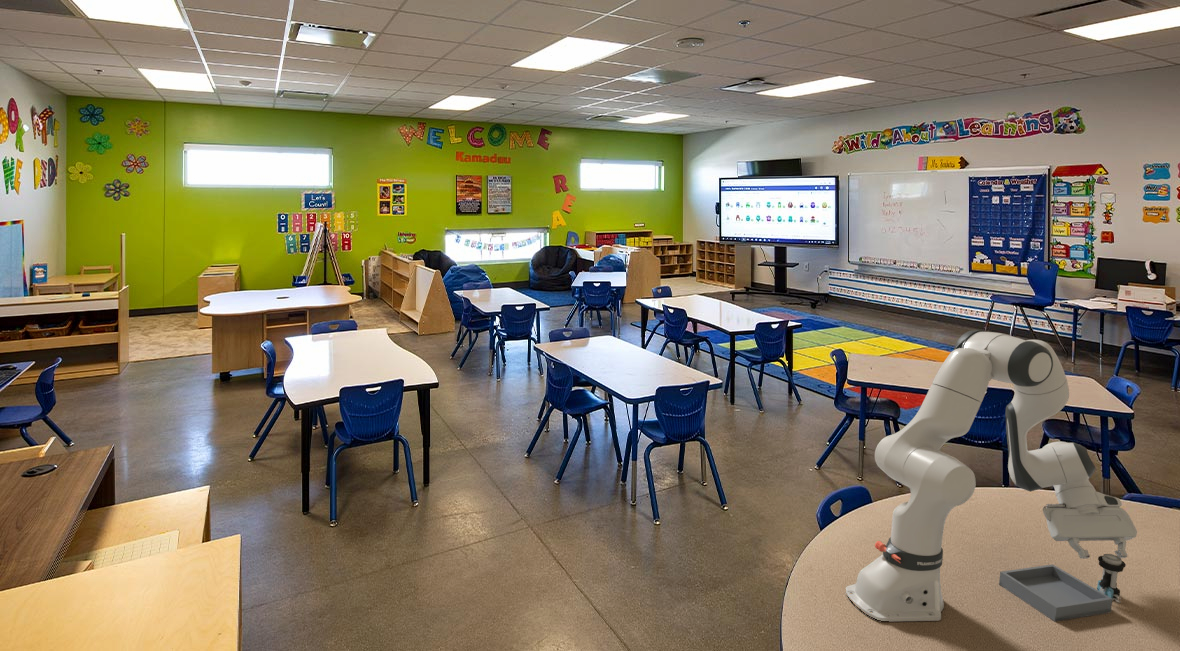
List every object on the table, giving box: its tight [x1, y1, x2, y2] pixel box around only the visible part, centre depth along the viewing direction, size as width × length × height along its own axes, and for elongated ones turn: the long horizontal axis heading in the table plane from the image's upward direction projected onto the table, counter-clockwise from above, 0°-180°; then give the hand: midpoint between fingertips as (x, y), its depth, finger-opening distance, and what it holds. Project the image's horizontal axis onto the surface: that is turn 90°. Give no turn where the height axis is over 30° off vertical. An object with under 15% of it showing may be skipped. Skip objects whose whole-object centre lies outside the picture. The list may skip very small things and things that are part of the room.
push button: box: [1096, 553, 1127, 603], centre depth 164 cm, size 7×5×10 cm
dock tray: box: [998, 564, 1114, 622], centre depth 164 cm, size 16×16×4 cm
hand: (1104, 557), depth 167 cm, fingers open, 8 cm apart
